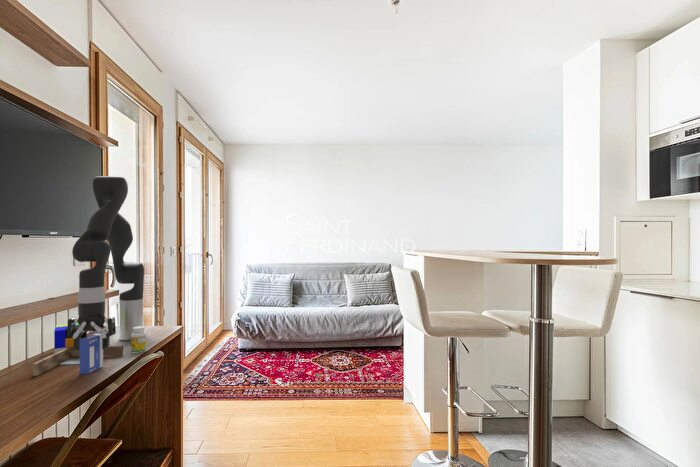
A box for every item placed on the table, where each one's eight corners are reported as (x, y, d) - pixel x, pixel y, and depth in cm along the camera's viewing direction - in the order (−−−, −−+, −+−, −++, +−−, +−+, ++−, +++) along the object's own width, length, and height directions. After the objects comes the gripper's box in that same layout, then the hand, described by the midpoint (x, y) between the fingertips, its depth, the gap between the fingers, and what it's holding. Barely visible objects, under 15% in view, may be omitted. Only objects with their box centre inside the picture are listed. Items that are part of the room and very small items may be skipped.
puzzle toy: (54, 357, 147) (54, 330, 147) (56, 351, 156) (56, 325, 156) (86, 353, 153) (86, 327, 153) (86, 347, 161) (86, 322, 161)
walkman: (87, 375, 129) (87, 338, 129) (79, 375, 129) (79, 338, 129) (104, 367, 137) (103, 332, 137) (96, 367, 137) (96, 332, 137)
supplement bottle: (148, 352, 155) (148, 327, 155) (133, 355, 151) (133, 329, 151) (143, 349, 158) (143, 325, 158) (128, 352, 154) (128, 327, 154)
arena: (69, 357, 148) (69, 346, 148) (123, 356, 149) (123, 345, 149) (33, 375, 129) (33, 363, 129) (94, 374, 130) (94, 362, 130)
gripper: (119, 298, 137) (119, 345, 137) (76, 298, 136) (76, 346, 136) (108, 302, 130) (108, 351, 130) (62, 302, 129) (61, 352, 129)
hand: (91, 349), depth 133 cm, fingers open, 8 cm apart
